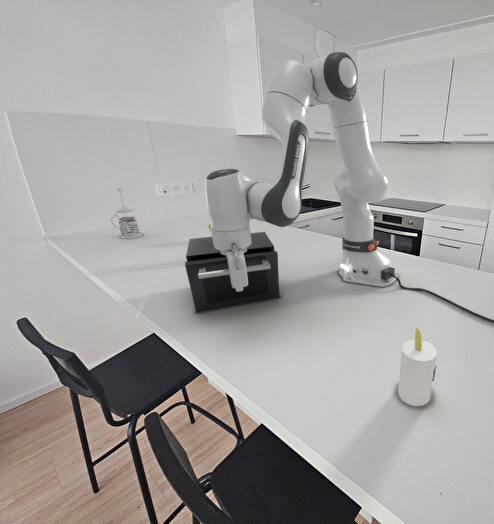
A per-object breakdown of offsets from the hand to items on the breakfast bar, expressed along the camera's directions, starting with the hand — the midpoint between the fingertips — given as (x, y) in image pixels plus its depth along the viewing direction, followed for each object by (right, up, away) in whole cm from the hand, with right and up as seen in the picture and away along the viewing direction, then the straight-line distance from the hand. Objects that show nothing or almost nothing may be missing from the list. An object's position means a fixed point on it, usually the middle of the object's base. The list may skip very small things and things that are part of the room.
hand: (239, 289), depth 78 cm
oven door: (-4, -7, +12) cm, 14 cm away
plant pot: (-37, +18, +74) cm, 85 cm away
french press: (-89, +21, +80) cm, 121 cm away
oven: (-9, -2, +22) cm, 24 cm away
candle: (+42, -19, -19) cm, 50 cm away
